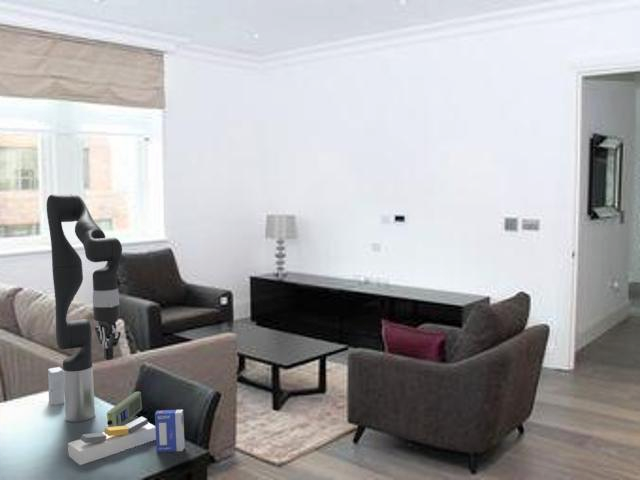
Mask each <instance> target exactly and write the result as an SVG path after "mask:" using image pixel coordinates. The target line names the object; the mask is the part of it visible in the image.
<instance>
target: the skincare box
mask: <svg viewBox="0 0 640 480" xmlns="http://www.w3.org/2000/svg"><path fill="white" fill-rule="evenodd" d="M47 373H48V375H47V377H48V378H47V379H48V402H49V403H50V405H51V406H58V405H63V404H65V395H64V378H63V368H61V367H60V366H57V367H51V368H48V369H47Z"/></svg>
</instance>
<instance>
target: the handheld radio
mask: <svg viewBox="0 0 640 480" xmlns="http://www.w3.org/2000/svg"><path fill="white" fill-rule="evenodd" d="M142 403H143V402H142V392H141V391H134V392H133V393H132V394H130V395H128V396H127V397H126V398H125V399H123V400H122V401H121V402H119V403H118V404H116V405H115V406H114V407H112V408H111V409H110V410H108V411H107V412H106V416H107V417H106V418H107V422H106V423H107V427H116V426H125V425H126V423H128V422H129V421H130V420H131V419H132V418H133V417H134V416H136V415H137V414H139V413H140V412H141V411H142V410H143V404H142Z"/></svg>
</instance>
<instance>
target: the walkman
mask: <svg viewBox="0 0 640 480" xmlns="http://www.w3.org/2000/svg"><path fill="white" fill-rule="evenodd" d="M184 420H185V418H184V409H166V410H165V409H164V410H162V409H161V410H156V411H155V413H154V422H155V425H154V426H155V428H156V440H155V447H156V448H155V450H156V453H167V452H169V453H170V452H172V453H173V452H184V449H185V424H184V423H185V422H184Z"/></svg>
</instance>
